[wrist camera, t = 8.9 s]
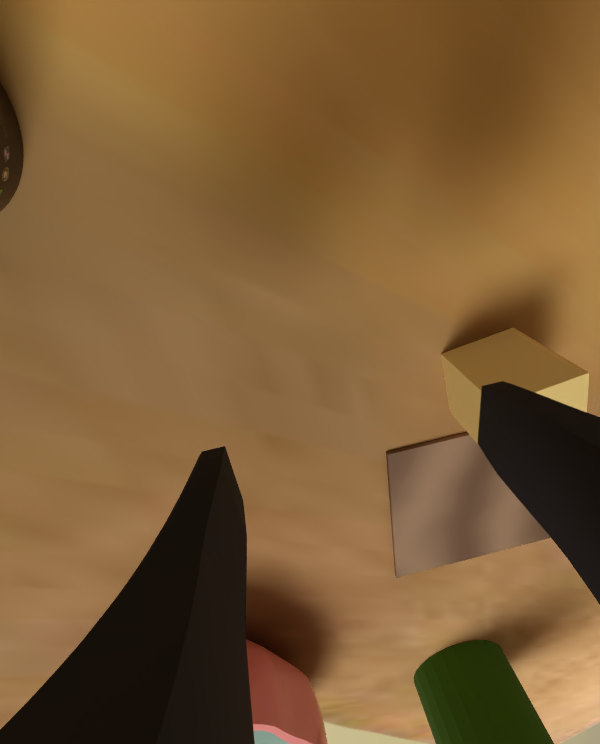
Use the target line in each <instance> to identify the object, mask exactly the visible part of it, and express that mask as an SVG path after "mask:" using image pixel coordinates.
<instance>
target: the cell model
mask: <svg viewBox="0 0 600 744" xmlns="http://www.w3.org/2000/svg"><path fill="white" fill-rule="evenodd" d="M246 645H247V658H248V671H249V684H250V696H251V707H252V719H253V730H254V741H255V744H327V738H326V733H325V728H324V723H323V718H322V713H321V710H320V707H319V704H318V701H317V697H316V694H315V691H314V689H313V687H312V685H311V683H310V681H309V679H308V678H307V676H306V675H305V674H304V673H303V672H302V671H300V670H299V669H297V668H296V667H294V666H293V665H291V664H290V663H288V662H287V661H285V660H284V659H282V658H281V657H279V656H278V655H276V654H274V653H273V652H271V651H269V650H268V649H266V648H264V647H262V646H260V645H258V644H256V643H254V642H252V641H250V640H248V639H246Z"/></svg>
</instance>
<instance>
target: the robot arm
mask: <svg viewBox="0 0 600 744" xmlns="http://www.w3.org/2000/svg"><path fill="white" fill-rule="evenodd" d="M478 445H479V446H480V448H481V450H482V451H483V453H484V455H485V456H486V458H487V459H488V461H489V462H490V464H491V465H492V467H493V468H494V470H495V471H496V473H497V474H498V476H499V477H500V478H501V479H502V480H503V482H504V483H505V484H506V485H507V486H508V488H509V489H510V490H511V491H512V492H513V494H514V495H515V496H516V497H517V498H518V499H519V501H520V502H521V503H522V504H523V505H524V507H525V508H526V509H527V510H528V511H529V512H530V514H531V515H532V516H533V517H534V518H535V519H536V521H537V522H538V523H539V524H540V525H541V526H542V528H543V529H544V530H545V531H546V532H547V533H548V535H549V536H550V537H551V538H552V539H553V540H554V542H555V543H556V544H557V545H558V547H559V548H560V549H561V551H562V552H563V553H564V554H565V556H566V557H567V558H568V560H569V561H570V562H571V564H572V565H573V567H574V568H575V569H576V571H577V572H578V574H579V575H580V577H581V578H582V579H583V581H584V582H585V584H586V585H587V587H588V588H589V589H590V591H591V592H592V594H593V595H594V597H595V598H596V600H597V601H598V603H599V604H600V417H597V416H595V415H592V414H589V413H587V412H584V411H581V410H579V409H576V408H573V407H571V406H568V405H566V404H563V403H560V402H558V401H555V400H553V399H550V398H548V397H545V396H543V395H540V394H537V393H535V392H532V391H530V390H527V389H524V388H522V387H519V386H516V385H513V384H510V383H507V382H504V381H501V382H497V383H493V384H488V385H484V386H482V389H481V403H480V416H479V429H478ZM246 567H247V534H246V524H245V514H244V505H243V499H242V496H241V493H240V490H239V487H238V484H237V481H236V478H235V475H234V472H233V469H232V466H231V463H230V460H229V457H228V454H227V451H226V448H225V446H224V447H220V448H216V449H211V450H207V451H203V452H202V453H201V454H200V456H199V458H198V460H197V462H196V464H195V466H194V468H193V471H192V473H191V475H190V477H189V479H188V481H187V483H186V485H185V487H184V489H183V491H182V493H181V495H180V497H179V499H178V501H177V502H176V504H175V506H174V508H173V510H172V512H171V514H170V516H169V517H168V519H167V521H166V523H165V524H164V526H163V528H162V529H161V531H160V533H159V534H158V536H157V538H156V539H155V541H154V543H153V544H152V546H151V548H150V549H149V551H148V553H147V554H146V556H145V557H144V559H143V560H142V562H141V563H140V565H139V566H138V568H137V569H136V571H135V572H134V574H133V575H132V577H131V578H130V579H129V581H128V582H127V584H126V585H125V587H124V588H123V589H122V591H121V592H120V593H119V595H118V596H117V597H116V599H115V600H114V601H113V603H112V604H111V605H110V607H109V608H108V609H107V610H106V612H105V613H104V614H103V616H102V617H101V618H100V619H99V621H98V622H97V623H96V624H95V626H94V627H93V628H92V629H91V631H90V632H89V633H88V634H87V636H86V637H85V638H84V639H83V641H82V642H81V643H80V644H79V645H78V647H77V648H76V649H75V650H74V651H73V652H72V653H71V655H70V656H69V657H68V658H67V659H66V660H65V661H64V663H63V664H62V665H61V666H60V667H59V668H58V669H57V670H56V672H55V673H54V674H53V675H52V676H51V677H50V678H49V679H48V680H47V681H46V683H45V684H44V685H43V686H42V687H41V688H40V689H39V690H38V691H37V692H36V693H35V695H34V696H33V697H32V698H31V699H30V700H29V701H28V702H27V703H26V704H25V705H24V706H23V707H22V708H21V709H20V710H19V711H18V712H17V713H16V714H15V715H14V716H13V717H12V718H11V719H10V720H9V721H8V722H7V723H6V724H5V725H4V726H3V727H2V728H1V730H0V744H255V741H254V730H253V719H252V707H251V696H250V684H249V671H248V658H247V645H246Z"/></svg>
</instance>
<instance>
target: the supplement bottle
mask: <svg viewBox="0 0 600 744" xmlns="http://www.w3.org/2000/svg"><path fill="white" fill-rule="evenodd" d="M22 168H23V144H22V137H21V132H20V128H19V124H18V120H17V117H16V114H15V111H14V109H13V107H12V104H11V102H10V100H9V98H8V96H7V94H6V92H5V90H4V88H3V86H2V85H1V83H0V212H1V211H2V210H3V209H4V208H5V207H6V205H7V204H8V203H9V202H10V200H11V199H12V197H13V195H14V194H15V192H16V190H17V187H18V185H19V182H20V178H21V174H22Z"/></svg>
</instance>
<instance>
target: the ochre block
mask: <svg viewBox="0 0 600 744" xmlns="http://www.w3.org/2000/svg"><path fill="white" fill-rule="evenodd" d="M441 358H442V364H443V371H444V377H445V383H446V390H447V396H448V403H449V409H450V413H451V414H452V415H453V416H454V417H455V418H456V420H457V421H458V422H459V423H460V424H461V425H462V427H463V428H464V429H465V430H466V431H467V432H468V433H469V435H470V436H471V437H472V438H473V439H474V440H475V441H476V443H477V444H478V429H479V416H480V403H481V389H482V386H484V385H488V384H493V383H497V382H501V381H504V382H507V383H510V384H513V385H516V386H519V387H522V388H524V389H527V390H530V391H532V392H535V393H537V394H540V395H543V396H545V397H548V398H550V399H553V400H555V401H558V402H560V403H563V404H566V405H568V406H571V407H573V408H576V409H579V410H581V411H584V412H587V397H588V383H589V372H587V371H585V370H584V369H582V368H580V367H579V366H577V365H575V364H574V363H572V362H570V361H569V360H567V359H565V358H564V357H562V356H560V355H559V354H557V353H555V352H554V351H552V350H550V349H549V348H547V347H545V346H544V345H542V344H540V343H539V342H537V341H535V340H534V339H532V338H530V337H529V336H527V335H525V334H524V333H522V332H520V331H519V330H517V329H515V328H510V329H507V330H505V331H502V332H499V333H496V334H494V335H491V336H488V337H486V338H483V339H480V340H477V341H475V342H472V343H469V344H466V345H464V346H461V347H458V348H456V349H453V350H450V351H447V352H445V353H442V354H441Z"/></svg>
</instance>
